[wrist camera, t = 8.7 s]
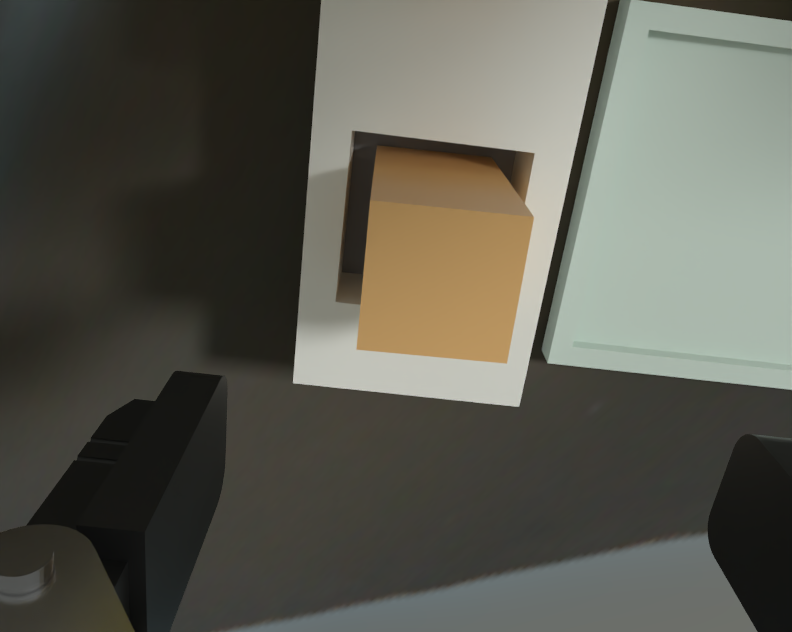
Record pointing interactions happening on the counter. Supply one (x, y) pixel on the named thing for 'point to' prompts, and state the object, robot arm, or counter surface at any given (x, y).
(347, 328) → the power strip
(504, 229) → the plug
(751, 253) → the tray
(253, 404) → the counter surface
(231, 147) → the counter surface
